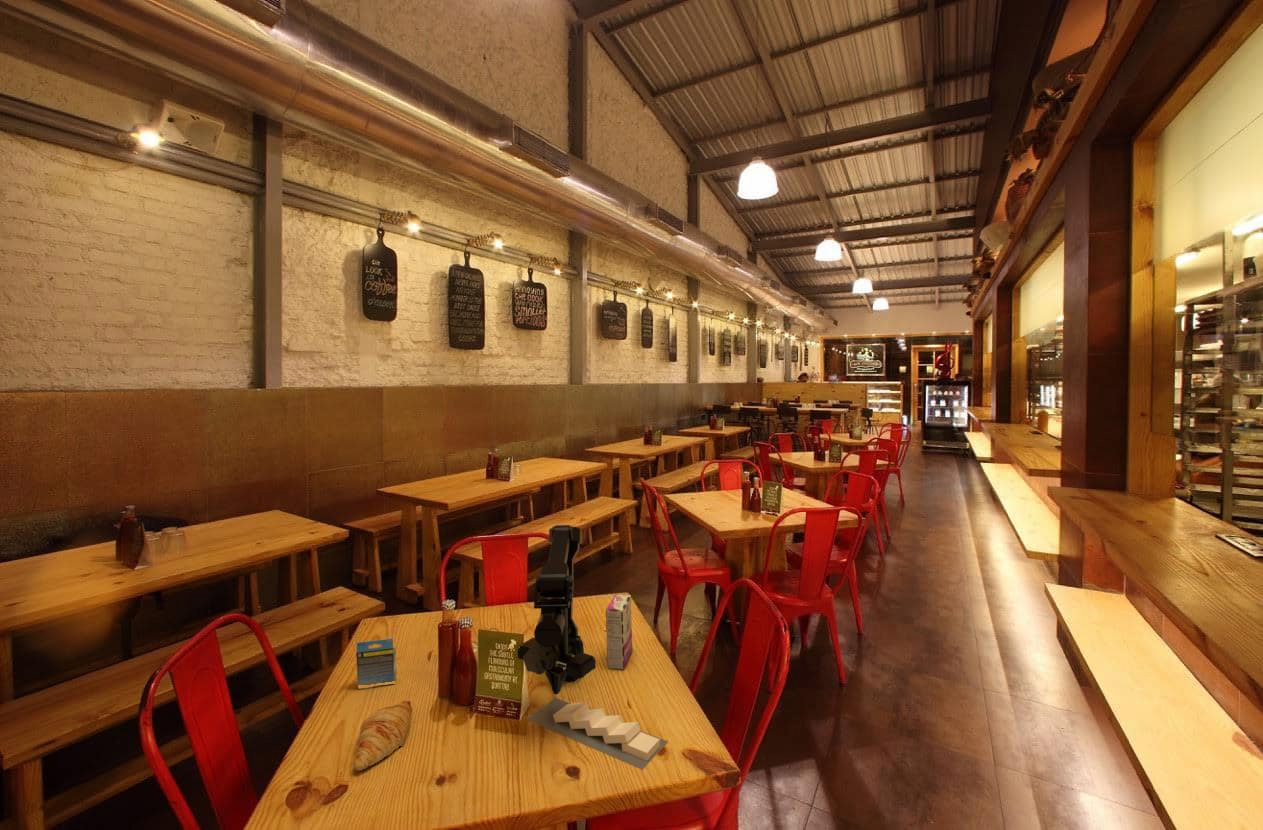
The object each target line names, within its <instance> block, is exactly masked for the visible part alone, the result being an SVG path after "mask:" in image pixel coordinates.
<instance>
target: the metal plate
mask: <svg viewBox="0 0 1263 830" xmlns="http://www.w3.org/2000/svg"><path fill="white" fill-rule="evenodd" d="M567 704H571V703H570V702H568V701H565V700H562V699H559V698H557V697H554V698H553V699H551V700H550V701H549V702H547V703H546V704H544V705H543V706H541V708H539V709H537V710H536V711H534V712H533V713H532V714H530V715H529V716H528V717H527V718H525V720H526V721H529V722H531V723H534V724H536V725H538V726H541V727H542V728H543V727H544V728H546V729H548V730H549V731H552V732H554V733H557V734H559V735H562V736H564V737H566V738H568V739H571V740H573V741H576V742H577V743H580V744H582V745H585V746H587V747H588V748H592V749H594V750H596V751H598V752H601V753H603V754H605V755H608V756H610V757H611V758H615V759H617V760H619V761H621V762H624V763H626V764H629V765H630V766H633V767H635V768H637V769H640V770H644V769H645V768H646V767H647V766H648V764H649V763H650V762H651V761H652V760H653V759H655V757H656V756H657V754H659V752H661V750H662V749H664V747H665V746H666V745H667V744H668V743H669V741H668V740H665V739H663V738H660V737H658V736H655V735H652V734H650V733H649V732H648V733H647V732H645V731H642V730H640V732H642V733H645V734H647V735H650V736H653V737H655V738H658V739H660V747H659V748H658V749H657V751H656V752H655V753H654V754H653V755H652V756H651V757H650V758H649V759H648V760H647V761H646V760H644V759H641V758H639V757H637V756H634V755H632V754H629V753H627V752H625V751H622V743H608V744H605V742H604V738H603V735H602V736H587V733H586V729H585V728H582V729H571V727H570V724H569V722H555V720H554V717H553V715H554V714H555V713H557V712H558V711H559V710H561V709H562V708H563V707H565V706H566V705H567Z"/></svg>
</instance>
